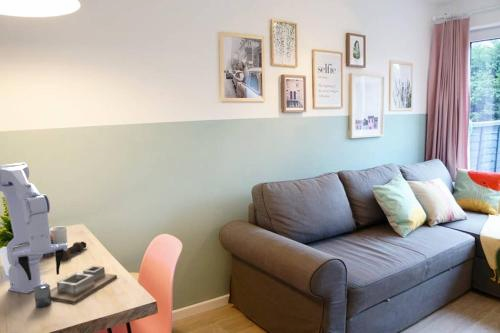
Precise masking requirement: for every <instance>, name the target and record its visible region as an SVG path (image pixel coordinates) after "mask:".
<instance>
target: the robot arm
mask: <svg viewBox="0 0 500 333" xmlns="http://www.w3.org/2000/svg"><path fill="white" fill-rule="evenodd" d="M29 177H30V169H29V166H28V164H27V163H26V162H23V161H22V162H17V163H11V164H9V163H8V164H2V165H1V164H0V192H1V193H2V194H3V196H4V198H5V202H6V207H7V212H8V217H9V220H10V224H11V229H12V235H13V238H12V239H11V240H10V241H9V242H8V243H7V245H6V255H7V260H8V263H9V265H10V266H9V268H8V281H9V286H10V287H8V288H7V289H8V291H12V292H18V293H22V294H30V293H32V292H34V288H35V287H36V286H39V285H43V284H47V281H42V279H41V273H40V272H41V271H40V265H39V262H41V259H43V258H42V256H43V254H46V253H52V252H55V254H54V256H55V258H54V259H55V268H56V269H55V270H56V273H55V274H56V275H60V268H61V263H62V261H61V260H62V258H63V255H64V251H67V249H68V242H67V243H63V244H51V240H50V234H51V233H50V224H49V216H48V215H49V214H48V213H50V212H51V204H50V200H49V198H48V196H47V194H43V193H41V192H40V191H39V190H38V188H37V187H36V185H35V184H33V183H31V182H29Z"/></svg>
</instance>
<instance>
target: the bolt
mask: <svg viewBox="0 0 500 333" xmlns="http://www.w3.org/2000/svg"><path fill="white" fill-rule="evenodd" d="M85 248H87V243H86V242H85V241H79V242H73V245H71V246H70V247H67V251H64V255H63V258H62V260H61V262H67V261H68V260H70V257H71V256H72V255H75V254H76V253H81V252H83V250H84V249H85Z"/></svg>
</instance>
